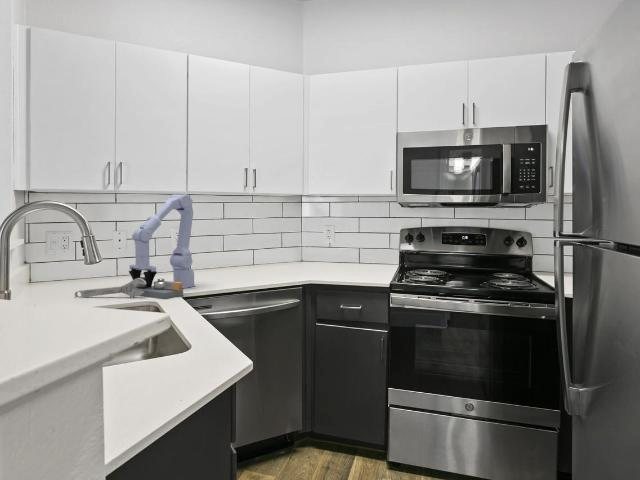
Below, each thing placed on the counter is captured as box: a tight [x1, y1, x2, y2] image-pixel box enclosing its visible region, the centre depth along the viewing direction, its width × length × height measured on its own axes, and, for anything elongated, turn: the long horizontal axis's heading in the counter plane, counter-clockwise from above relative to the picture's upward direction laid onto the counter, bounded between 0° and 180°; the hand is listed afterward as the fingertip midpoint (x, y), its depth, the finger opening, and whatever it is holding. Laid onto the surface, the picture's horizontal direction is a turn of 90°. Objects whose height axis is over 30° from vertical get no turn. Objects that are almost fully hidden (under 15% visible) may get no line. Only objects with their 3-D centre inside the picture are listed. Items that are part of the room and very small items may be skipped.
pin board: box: [137, 285, 184, 300], centre depth 202 cm, size 10×24×2 cm, turn 62°
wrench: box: [74, 278, 147, 299], centre depth 195 cm, size 8×2×30 cm
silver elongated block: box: [153, 278, 183, 291], centre depth 201 cm, size 6×14×4 cm, turn 62°
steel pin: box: [138, 276, 147, 289], centre depth 206 cm, size 4×4×7 cm
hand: (142, 286), depth 206 cm, fingers open, 7 cm apart
